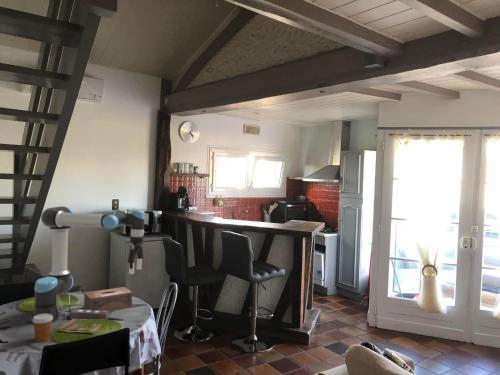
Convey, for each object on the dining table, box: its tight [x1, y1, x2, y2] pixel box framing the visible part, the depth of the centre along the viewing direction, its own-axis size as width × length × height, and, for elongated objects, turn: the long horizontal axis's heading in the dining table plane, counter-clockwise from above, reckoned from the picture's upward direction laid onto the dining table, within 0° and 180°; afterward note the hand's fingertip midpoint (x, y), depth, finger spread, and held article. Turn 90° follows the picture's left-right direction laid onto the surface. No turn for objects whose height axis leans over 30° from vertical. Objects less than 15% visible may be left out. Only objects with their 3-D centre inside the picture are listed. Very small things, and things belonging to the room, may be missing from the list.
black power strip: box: [69, 308, 124, 321], centre depth 236 cm, size 31×6×4 cm, turn 85°
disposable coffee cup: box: [32, 313, 53, 343], centre depth 204 cm, size 10×10×12 cm
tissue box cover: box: [83, 286, 133, 312], centre depth 256 cm, size 26×14×10 cm, turn 127°
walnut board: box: [57, 319, 102, 332], centre depth 222 cm, size 20×16×2 cm
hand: (135, 271), depth 240 cm, fingers open, 13 cm apart
